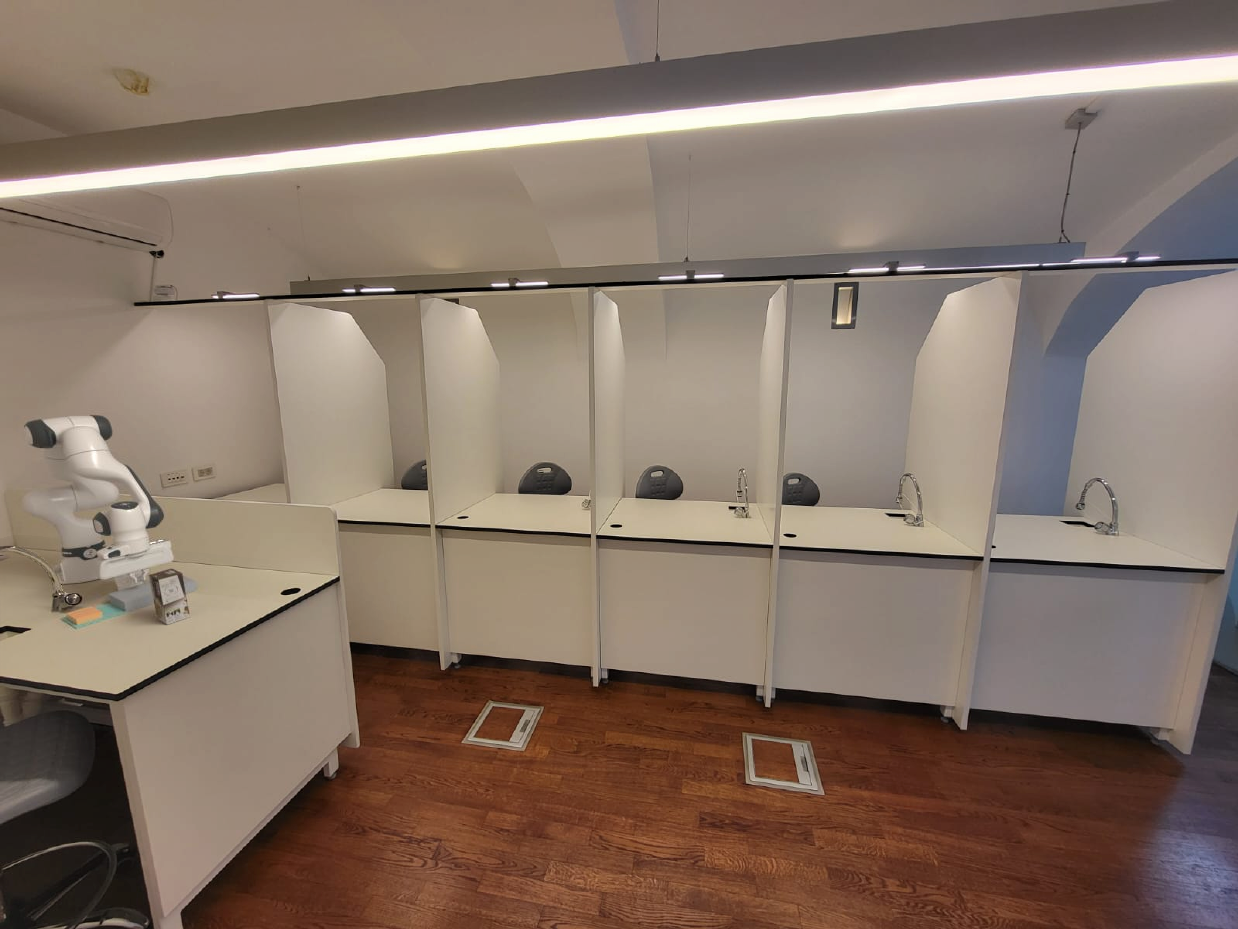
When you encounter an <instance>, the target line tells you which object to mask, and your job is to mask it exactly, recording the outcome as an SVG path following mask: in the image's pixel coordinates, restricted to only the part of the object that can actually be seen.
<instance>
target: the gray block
mask: <svg viewBox="0 0 1238 929" xmlns="http://www.w3.org/2000/svg"><path fill="white" fill-rule="evenodd" d="M183 580H184V586H185V592H186V594H188V593H192V592H196V591H197V590H198V588H197V583H196V580H195V579H193V578H191V577H187V576H185V575H183ZM107 596H108V599H109V604H112V605H114V606H116V607H118V608H120V609H122V610H124V611H125V612H126V613H130V612H133V611H136V610H139V609H142V608H146V607H148V606H151V605H155V604H154V600H153V595H152V590H151V585H150V581H148V582H144V583H143V584H141V585H137V586H134V587H130V588H127V589H123V590H120V591H118V590H116V591H114V592H111V593H108V594H107ZM126 613H125V614H126Z"/></svg>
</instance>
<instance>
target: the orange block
mask: <svg viewBox="0 0 1238 929" xmlns="http://www.w3.org/2000/svg"><path fill="white" fill-rule="evenodd" d="M65 614H66V616H67V619H69V620H70V621H72V622H73V623H75V624H77V625H79V624H82V623H85V622H88V621H92V620H95V619H98V618H101V617H103V615H102V611H100V610H98V609H96V607H94V606H92V605H90V606H87V607H83V608H80V609H76V610H73V611H70V612H66V613H65Z"/></svg>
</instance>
